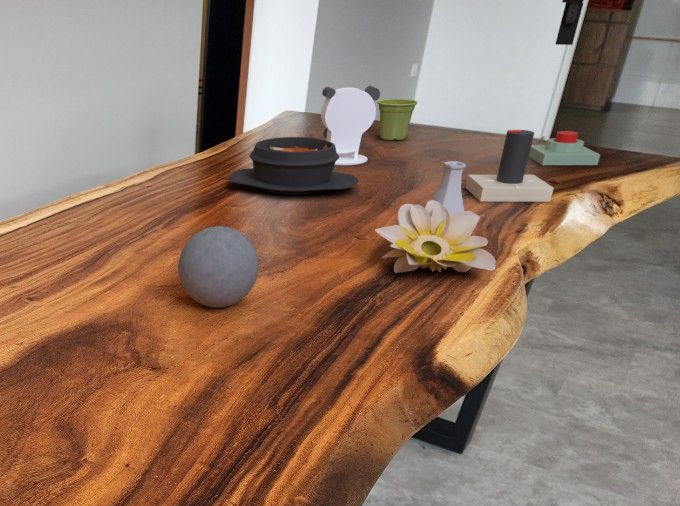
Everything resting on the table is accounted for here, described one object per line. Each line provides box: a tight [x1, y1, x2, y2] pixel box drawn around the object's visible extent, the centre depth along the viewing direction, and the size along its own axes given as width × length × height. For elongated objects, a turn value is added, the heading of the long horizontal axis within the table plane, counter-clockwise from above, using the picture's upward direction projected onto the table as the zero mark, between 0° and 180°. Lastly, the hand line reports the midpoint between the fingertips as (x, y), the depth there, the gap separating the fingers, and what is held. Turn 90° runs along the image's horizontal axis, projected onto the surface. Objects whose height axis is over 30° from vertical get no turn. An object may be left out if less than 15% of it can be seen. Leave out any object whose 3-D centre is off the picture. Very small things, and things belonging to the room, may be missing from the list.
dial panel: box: [464, 174, 555, 203], centre depth 132 cm, size 12×10×3 cm
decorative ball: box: [177, 225, 260, 309], centre depth 90 cm, size 10×10×10 cm
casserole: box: [227, 136, 359, 196], centre depth 139 cm, size 25×19×8 cm
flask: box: [431, 160, 467, 216], centre depth 115 cm, size 7×7×10 cm
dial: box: [496, 129, 535, 184], centre depth 129 cm, size 4×4×9 cm
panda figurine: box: [320, 85, 381, 166], centre depth 158 cm, size 12×11×15 cm
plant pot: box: [377, 98, 419, 141], centre depth 178 cm, size 9×9×9 cm
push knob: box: [555, 130, 579, 143], centre depth 153 cm, size 4×4×2 cm
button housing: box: [528, 137, 601, 166], centre depth 154 cm, size 11×10×4 cm
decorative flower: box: [374, 199, 497, 274], centre depth 97 cm, size 15×11×10 cm
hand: (564, 41), depth 133 cm, fingers open, 13 cm apart
